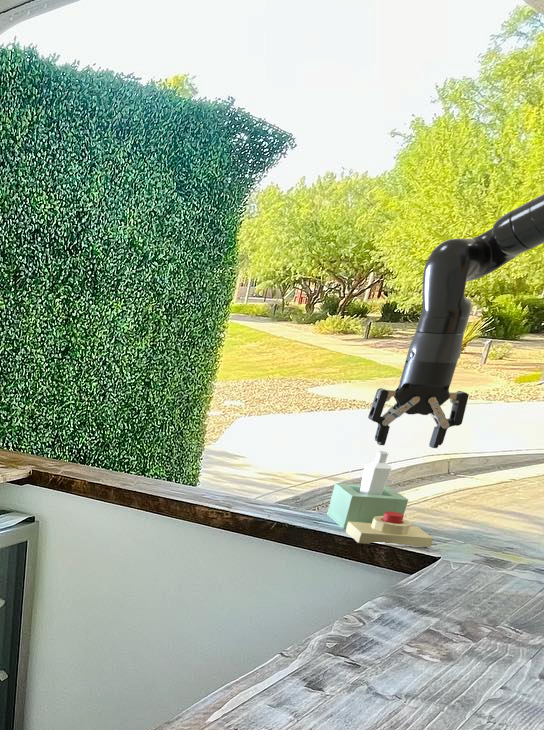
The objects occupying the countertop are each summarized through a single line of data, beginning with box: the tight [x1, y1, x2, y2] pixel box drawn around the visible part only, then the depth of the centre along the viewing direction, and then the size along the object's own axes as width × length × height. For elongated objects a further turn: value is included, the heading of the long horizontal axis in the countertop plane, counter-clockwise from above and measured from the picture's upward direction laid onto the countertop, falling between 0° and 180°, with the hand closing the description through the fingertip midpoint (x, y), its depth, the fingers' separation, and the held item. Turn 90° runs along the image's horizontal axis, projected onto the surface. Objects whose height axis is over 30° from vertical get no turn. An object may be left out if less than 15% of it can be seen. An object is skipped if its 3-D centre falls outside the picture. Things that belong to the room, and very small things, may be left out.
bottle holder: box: [326, 482, 409, 530], centre depth 156 cm, size 10×10×7 cm
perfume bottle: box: [359, 450, 393, 495], centre depth 155 cm, size 5×4×15 cm
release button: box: [383, 512, 405, 524], centre depth 147 cm, size 3×3×2 cm
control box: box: [345, 516, 434, 548], centre depth 148 cm, size 12×7×4 cm, turn 75°
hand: (406, 445), depth 145 cm, fingers open, 8 cm apart
